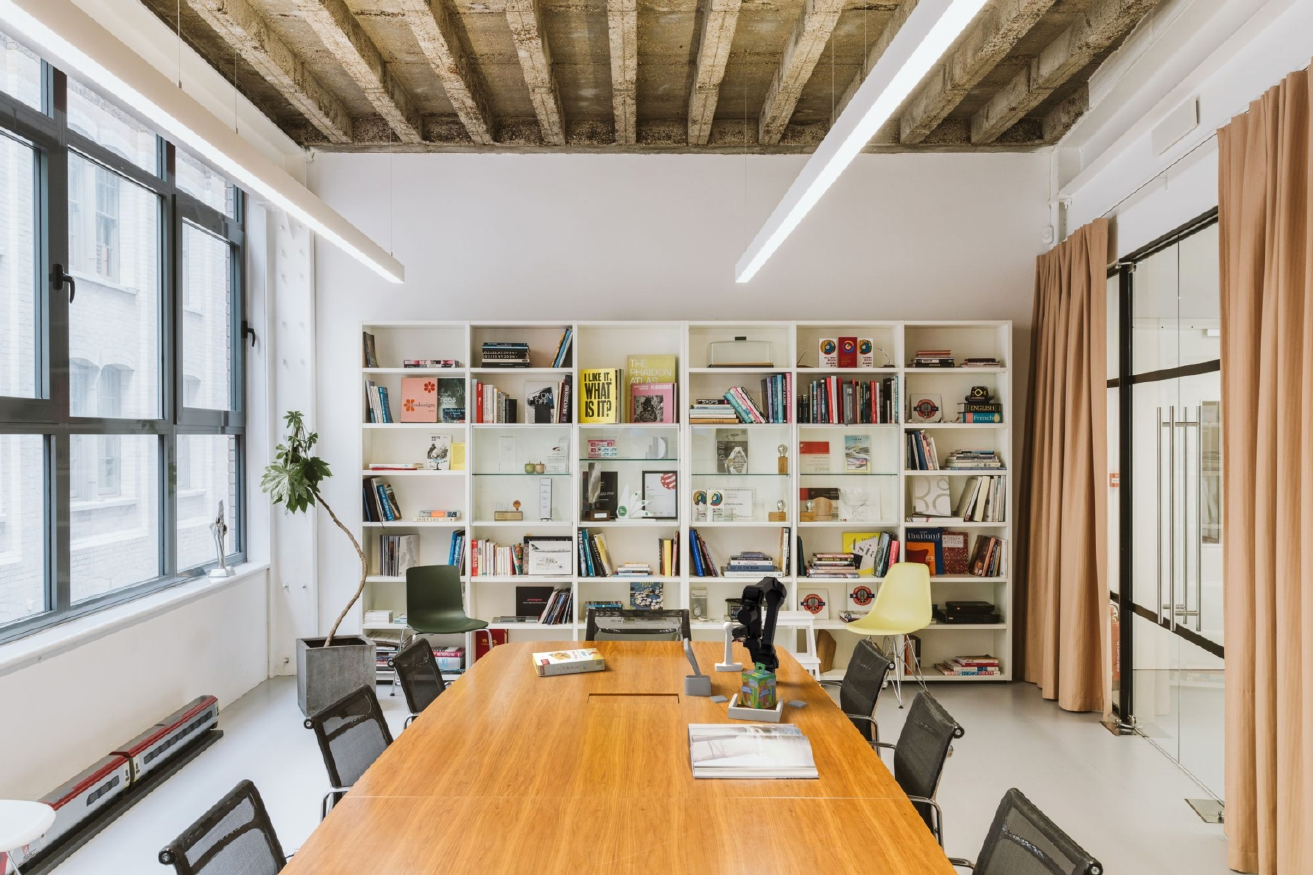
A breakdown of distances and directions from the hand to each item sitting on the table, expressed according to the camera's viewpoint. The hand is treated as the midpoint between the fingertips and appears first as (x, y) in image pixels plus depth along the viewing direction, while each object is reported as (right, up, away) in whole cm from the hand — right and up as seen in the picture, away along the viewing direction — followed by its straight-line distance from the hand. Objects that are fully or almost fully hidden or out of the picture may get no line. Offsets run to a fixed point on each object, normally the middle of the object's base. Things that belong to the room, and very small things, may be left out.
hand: (754, 660), depth 290 cm
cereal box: (-74, -14, +35) cm, 83 cm away
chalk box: (0, -12, -14) cm, 18 cm away
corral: (-2, -12, -21) cm, 24 cm away
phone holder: (-21, -13, +6) cm, 25 cm away
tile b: (-14, -13, -8) cm, 20 cm away
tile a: (+14, -12, -14) cm, 23 cm away
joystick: (-7, -12, +31) cm, 34 cm away
